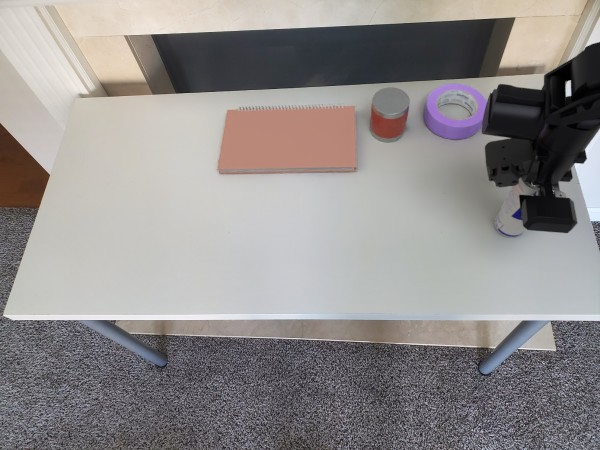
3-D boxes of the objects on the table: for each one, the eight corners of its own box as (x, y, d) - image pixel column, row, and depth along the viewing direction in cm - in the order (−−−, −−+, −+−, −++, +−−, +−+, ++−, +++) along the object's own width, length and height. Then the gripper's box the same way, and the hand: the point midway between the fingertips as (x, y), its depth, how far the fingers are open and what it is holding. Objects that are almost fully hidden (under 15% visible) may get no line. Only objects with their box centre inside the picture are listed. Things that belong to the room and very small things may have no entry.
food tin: (405, 117, 92) (410, 87, 85) (404, 143, 89) (409, 115, 82) (371, 115, 93) (373, 86, 86) (368, 141, 90) (370, 113, 83)
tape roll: (478, 96, 93) (483, 82, 90) (486, 139, 87) (492, 126, 84) (421, 97, 94) (424, 83, 91) (425, 140, 89) (428, 127, 85)
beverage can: (521, 243, 76) (556, 194, 63) (490, 235, 77) (518, 185, 64) (526, 218, 78) (560, 167, 65) (495, 211, 79) (523, 158, 66)
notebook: (354, 108, 94) (355, 101, 93) (356, 172, 86) (356, 165, 84) (229, 111, 97) (227, 105, 95) (219, 174, 89) (217, 168, 87)
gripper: (493, 84, 63) (467, 153, 76) (503, 193, 54) (472, 250, 68) (578, 87, 61) (536, 157, 75) (602, 200, 52) (550, 257, 66)
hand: (522, 202), depth 71 cm, fingers closed on beverage can, 5 cm apart
